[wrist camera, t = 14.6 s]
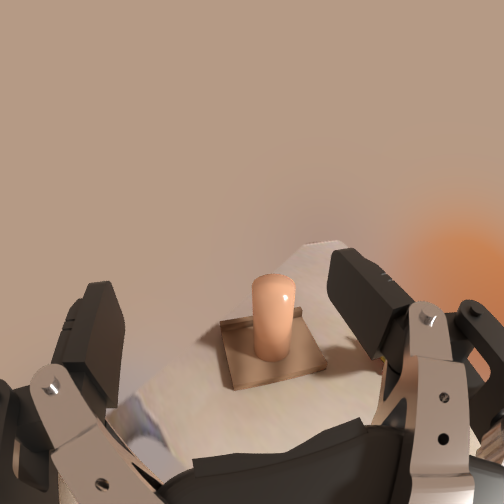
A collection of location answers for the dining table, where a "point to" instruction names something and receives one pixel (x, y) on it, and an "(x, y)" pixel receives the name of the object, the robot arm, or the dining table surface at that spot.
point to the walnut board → (262, 372)
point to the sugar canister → (272, 316)
